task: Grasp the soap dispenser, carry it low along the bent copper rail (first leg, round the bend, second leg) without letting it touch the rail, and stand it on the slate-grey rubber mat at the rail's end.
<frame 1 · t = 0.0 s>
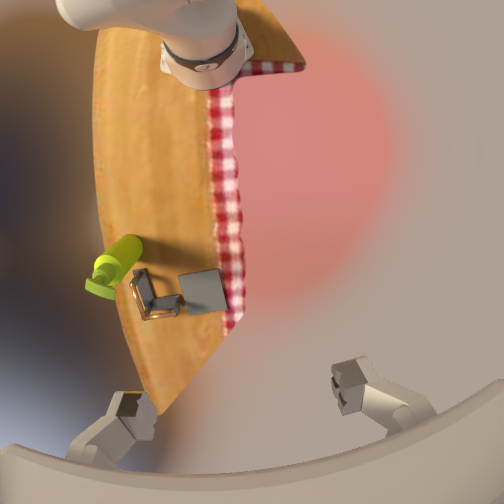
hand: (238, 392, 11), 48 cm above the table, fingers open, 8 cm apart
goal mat: (203, 292, 62), on the table
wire: (159, 286, 61), on the table
soap dispenser: (133, 247, 58), on the table
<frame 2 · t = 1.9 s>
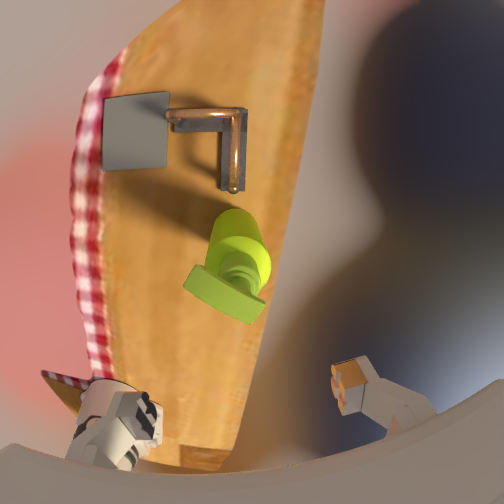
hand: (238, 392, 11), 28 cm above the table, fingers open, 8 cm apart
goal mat: (134, 131, 32), on the table
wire: (205, 151, 34), on the table
soap dispenser: (231, 228, 37), on the table
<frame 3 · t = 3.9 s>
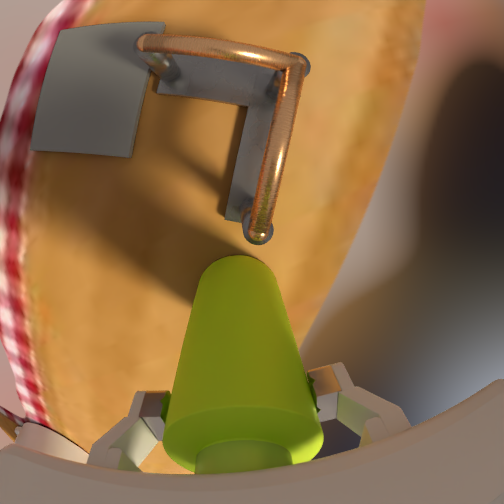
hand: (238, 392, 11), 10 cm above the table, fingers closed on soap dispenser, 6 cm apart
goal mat: (90, 85, 15), on the table
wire: (209, 138, 17), on the table
soap dispenser: (232, 287, 21), on the table, touching gripper
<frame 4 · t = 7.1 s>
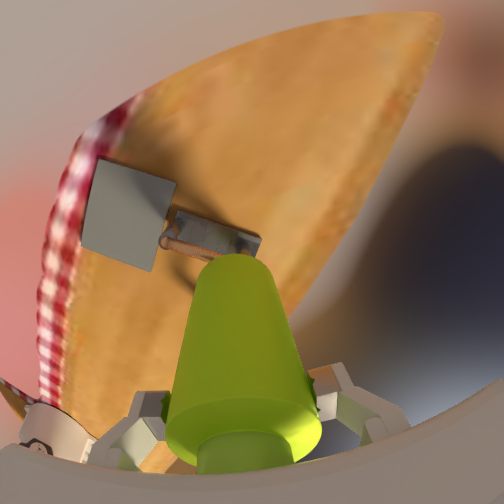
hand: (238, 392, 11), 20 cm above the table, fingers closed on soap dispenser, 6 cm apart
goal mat: (124, 215, 28), on the table
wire: (199, 269, 30), on the table
soap dispenser: (230, 285, 21), point 9 cm above the table, touching gripper
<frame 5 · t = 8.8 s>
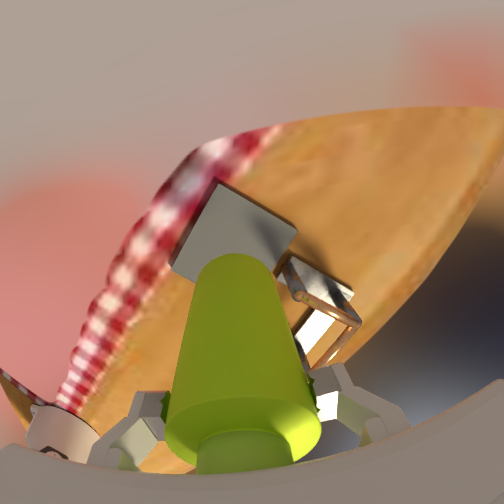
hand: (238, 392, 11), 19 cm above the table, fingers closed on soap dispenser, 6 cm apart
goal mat: (232, 248, 29), on the table
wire: (292, 310, 32), on the table
soap dispenser: (230, 285, 21), point 8 cm above the table, touching gripper
when the fingers open (12 cm above the table, at t = 10.4 s): soap dispenser stays where it is, resting on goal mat.
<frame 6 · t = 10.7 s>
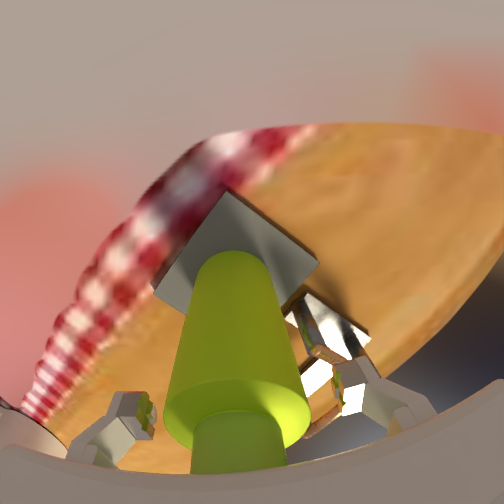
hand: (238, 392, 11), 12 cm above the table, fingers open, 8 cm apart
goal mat: (234, 276, 22), on the table
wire: (297, 353, 25), on the table
soap dispenser: (228, 281, 22), resting on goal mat
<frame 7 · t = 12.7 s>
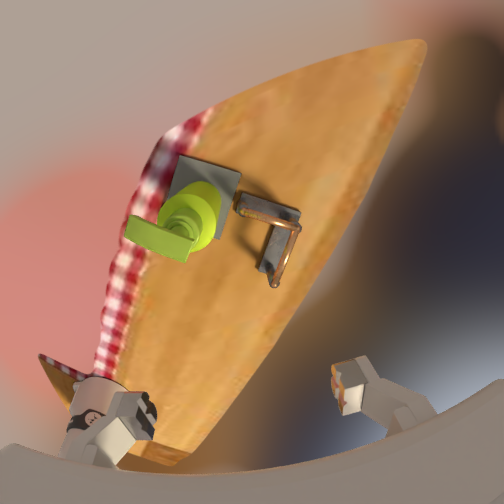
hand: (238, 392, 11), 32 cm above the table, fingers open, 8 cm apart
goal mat: (200, 197, 39), on the table
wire: (256, 236, 42), on the table
soap dispenser: (197, 200, 39), resting on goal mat
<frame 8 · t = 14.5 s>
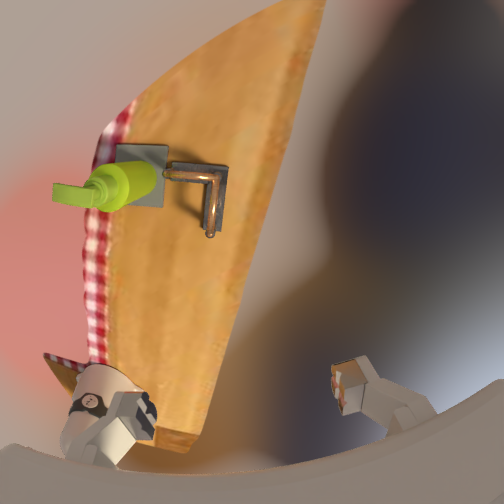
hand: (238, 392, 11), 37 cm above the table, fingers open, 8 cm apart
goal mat: (139, 175, 43), on the table
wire: (193, 197, 45), on the table
soap dispenser: (137, 177, 42), resting on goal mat
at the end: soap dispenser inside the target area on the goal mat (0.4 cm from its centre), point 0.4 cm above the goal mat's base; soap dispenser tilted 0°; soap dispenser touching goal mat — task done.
